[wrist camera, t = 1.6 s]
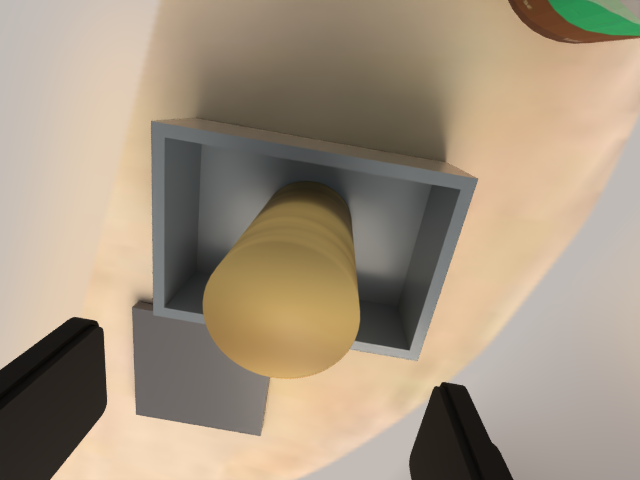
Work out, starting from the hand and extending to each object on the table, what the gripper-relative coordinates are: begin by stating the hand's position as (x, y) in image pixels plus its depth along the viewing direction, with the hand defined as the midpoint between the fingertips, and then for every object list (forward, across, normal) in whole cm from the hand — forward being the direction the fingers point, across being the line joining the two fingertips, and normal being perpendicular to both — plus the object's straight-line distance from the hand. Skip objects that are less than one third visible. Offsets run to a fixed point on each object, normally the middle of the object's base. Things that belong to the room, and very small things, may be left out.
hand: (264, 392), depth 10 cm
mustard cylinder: (+13, 0, -1) cm, 13 cm away
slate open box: (+13, 0, -1) cm, 13 cm away
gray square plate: (+14, +6, +12) cm, 19 cm away
